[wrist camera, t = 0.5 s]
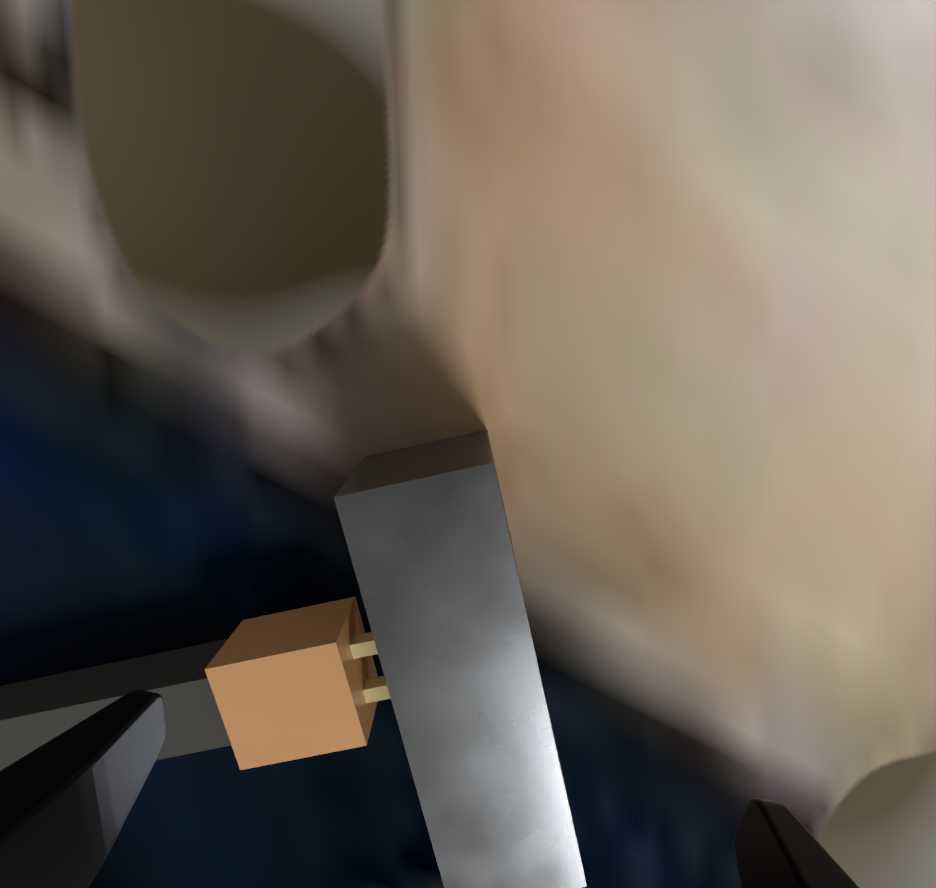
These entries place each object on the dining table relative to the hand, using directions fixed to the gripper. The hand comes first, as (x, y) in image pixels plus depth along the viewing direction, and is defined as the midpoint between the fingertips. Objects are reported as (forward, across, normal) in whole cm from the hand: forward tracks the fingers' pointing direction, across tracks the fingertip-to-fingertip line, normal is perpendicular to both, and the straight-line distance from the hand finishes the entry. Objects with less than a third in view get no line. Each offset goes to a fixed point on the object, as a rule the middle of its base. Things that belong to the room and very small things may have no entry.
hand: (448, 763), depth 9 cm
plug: (+12, +12, +13) cm, 21 cm away
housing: (+14, 0, +8) cm, 16 cm away
